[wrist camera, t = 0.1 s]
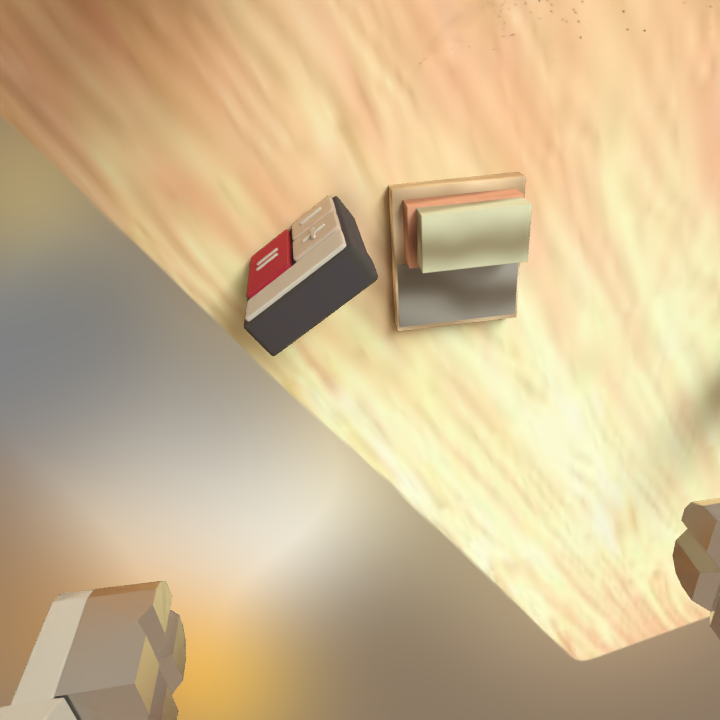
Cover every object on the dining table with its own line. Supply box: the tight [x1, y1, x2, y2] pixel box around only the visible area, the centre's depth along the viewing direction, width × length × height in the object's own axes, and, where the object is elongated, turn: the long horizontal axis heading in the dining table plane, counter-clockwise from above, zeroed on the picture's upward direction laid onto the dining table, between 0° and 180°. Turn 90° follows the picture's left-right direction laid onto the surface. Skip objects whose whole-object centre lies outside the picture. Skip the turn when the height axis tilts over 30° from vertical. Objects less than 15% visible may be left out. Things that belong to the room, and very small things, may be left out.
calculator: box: [244, 196, 378, 356], centre depth 52 cm, size 11×4×15 cm, turn 127°
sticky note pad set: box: [389, 172, 532, 331], centre depth 58 cm, size 15×13×7 cm
